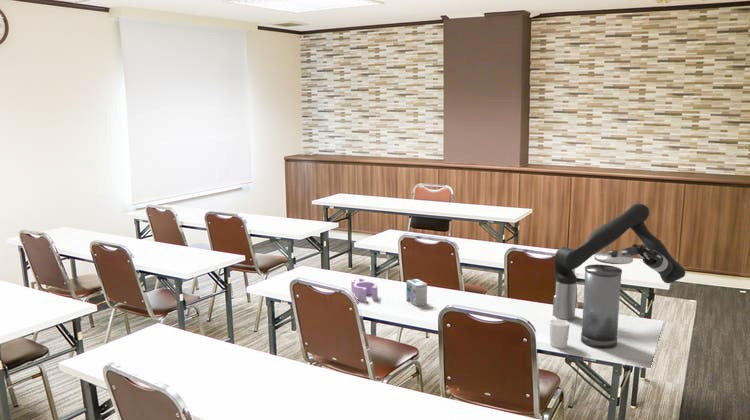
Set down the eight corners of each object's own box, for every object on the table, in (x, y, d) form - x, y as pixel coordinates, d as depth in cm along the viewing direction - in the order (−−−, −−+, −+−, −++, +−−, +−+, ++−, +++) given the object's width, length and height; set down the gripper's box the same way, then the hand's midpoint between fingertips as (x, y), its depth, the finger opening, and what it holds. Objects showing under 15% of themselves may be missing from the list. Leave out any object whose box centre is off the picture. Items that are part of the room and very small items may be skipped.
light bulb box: (405, 300, 309) (406, 280, 307) (417, 298, 312) (417, 278, 310) (415, 306, 300) (416, 285, 298) (427, 304, 302) (427, 283, 301)
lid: (586, 258, 252) (587, 250, 252) (627, 248, 267) (628, 240, 266) (617, 266, 240) (618, 257, 239) (659, 255, 255) (659, 247, 254)
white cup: (546, 346, 248) (547, 323, 246) (550, 340, 255) (551, 318, 253) (566, 350, 244) (567, 327, 242) (569, 343, 251) (571, 321, 249)
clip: (345, 292, 323) (345, 279, 322) (367, 289, 328) (367, 277, 327) (359, 303, 305) (359, 290, 304) (381, 300, 310) (381, 287, 309)
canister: (573, 340, 255) (577, 267, 249) (595, 333, 262) (599, 262, 257) (602, 351, 243) (607, 275, 237) (624, 344, 250) (629, 270, 245)
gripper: (644, 250, 273) (625, 235, 264) (673, 256, 262) (654, 241, 252) (638, 265, 272) (618, 251, 263) (667, 272, 261) (647, 257, 251)
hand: (636, 246), depth 258 cm, fingers closed on lid, 2 cm apart
